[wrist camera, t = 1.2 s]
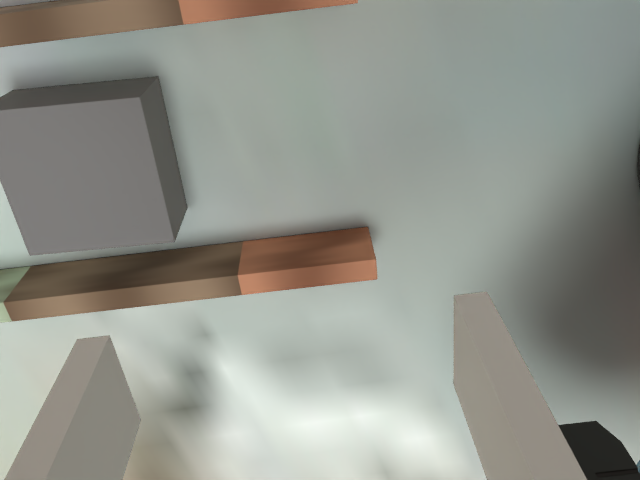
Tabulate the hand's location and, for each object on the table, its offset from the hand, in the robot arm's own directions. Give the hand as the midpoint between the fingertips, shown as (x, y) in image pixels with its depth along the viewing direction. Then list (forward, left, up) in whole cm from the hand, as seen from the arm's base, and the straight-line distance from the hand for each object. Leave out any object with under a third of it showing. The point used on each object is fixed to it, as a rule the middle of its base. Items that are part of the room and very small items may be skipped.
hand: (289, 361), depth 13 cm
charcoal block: (+9, 0, -18) cm, 20 cm away
